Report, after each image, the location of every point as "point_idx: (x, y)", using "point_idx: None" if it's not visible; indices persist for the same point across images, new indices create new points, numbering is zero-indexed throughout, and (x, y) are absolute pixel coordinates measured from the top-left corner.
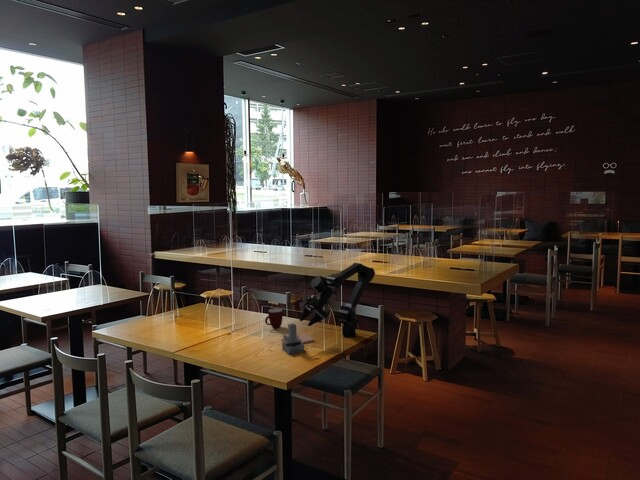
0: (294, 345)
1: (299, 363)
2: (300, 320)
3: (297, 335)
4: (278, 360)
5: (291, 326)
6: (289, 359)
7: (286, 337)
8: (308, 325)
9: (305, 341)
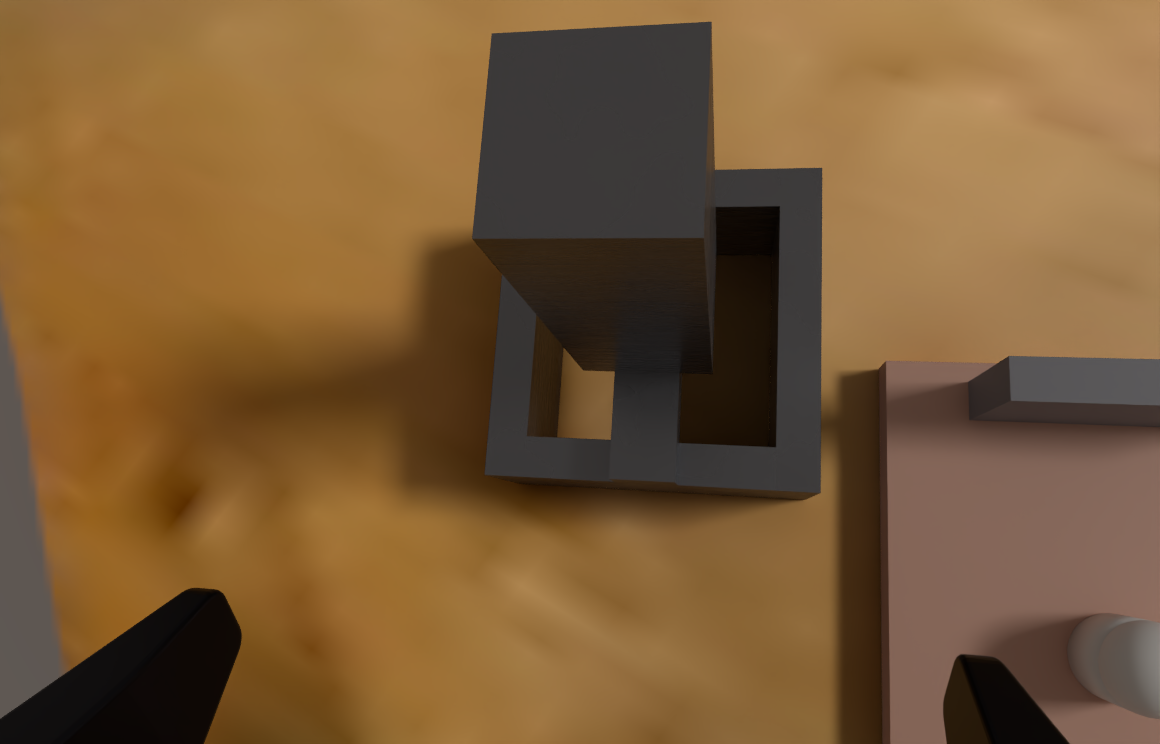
0: (771, 419)
1: (197, 223)
2: (955, 682)
3: (1130, 658)
4: (455, 34)
5: (494, 81)
6: (392, 167)
7: (1092, 362)
8: (195, 601)
9: (889, 726)
